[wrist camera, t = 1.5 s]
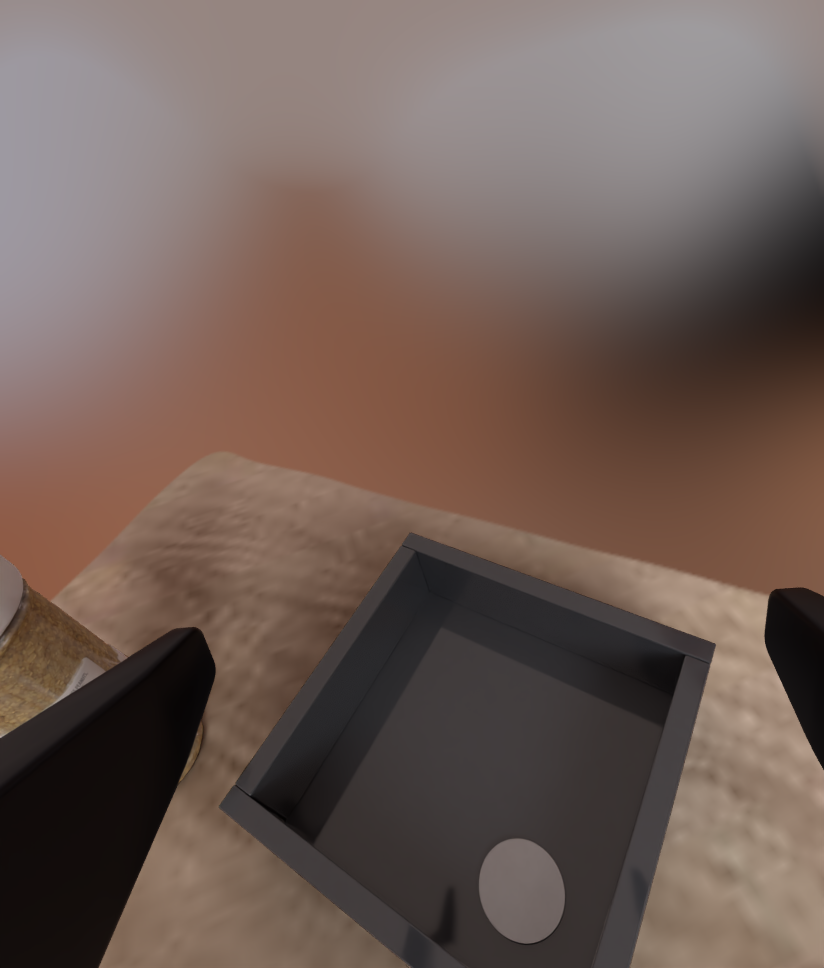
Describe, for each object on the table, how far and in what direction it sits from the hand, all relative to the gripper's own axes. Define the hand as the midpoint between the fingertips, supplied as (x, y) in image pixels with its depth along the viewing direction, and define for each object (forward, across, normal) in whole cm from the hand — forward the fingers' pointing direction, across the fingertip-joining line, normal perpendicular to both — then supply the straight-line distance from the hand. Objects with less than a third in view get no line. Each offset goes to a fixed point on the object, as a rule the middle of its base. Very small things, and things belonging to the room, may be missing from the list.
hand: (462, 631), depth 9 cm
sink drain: (+4, 0, +15) cm, 15 cm away
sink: (+8, +1, +13) cm, 15 cm away
